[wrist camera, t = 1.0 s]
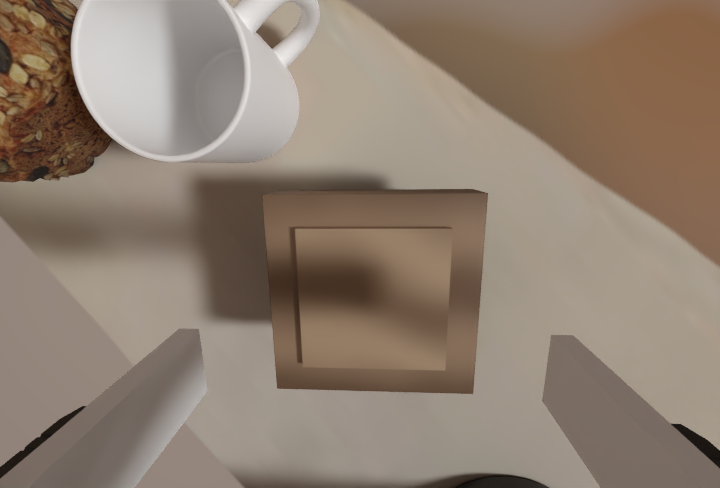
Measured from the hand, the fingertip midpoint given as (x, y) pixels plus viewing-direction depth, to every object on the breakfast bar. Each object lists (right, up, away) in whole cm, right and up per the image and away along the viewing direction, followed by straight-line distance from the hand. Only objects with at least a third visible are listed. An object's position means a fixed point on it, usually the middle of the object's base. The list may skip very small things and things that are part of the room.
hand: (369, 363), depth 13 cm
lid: (+1, +2, +10) cm, 10 cm away
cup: (-7, +16, +12) cm, 21 cm away
